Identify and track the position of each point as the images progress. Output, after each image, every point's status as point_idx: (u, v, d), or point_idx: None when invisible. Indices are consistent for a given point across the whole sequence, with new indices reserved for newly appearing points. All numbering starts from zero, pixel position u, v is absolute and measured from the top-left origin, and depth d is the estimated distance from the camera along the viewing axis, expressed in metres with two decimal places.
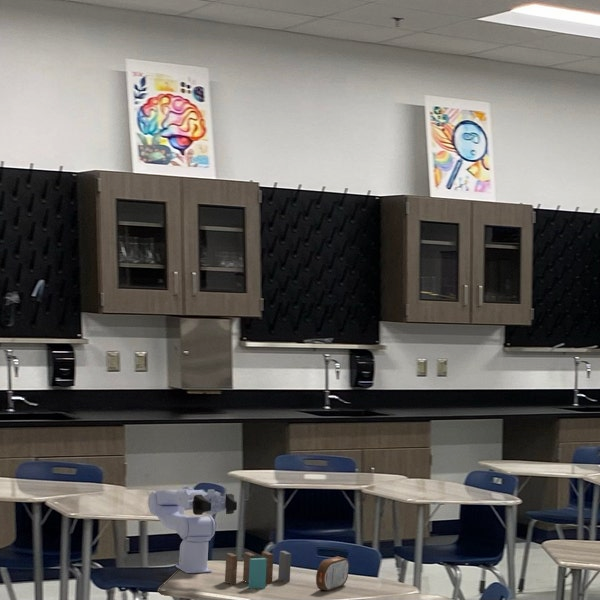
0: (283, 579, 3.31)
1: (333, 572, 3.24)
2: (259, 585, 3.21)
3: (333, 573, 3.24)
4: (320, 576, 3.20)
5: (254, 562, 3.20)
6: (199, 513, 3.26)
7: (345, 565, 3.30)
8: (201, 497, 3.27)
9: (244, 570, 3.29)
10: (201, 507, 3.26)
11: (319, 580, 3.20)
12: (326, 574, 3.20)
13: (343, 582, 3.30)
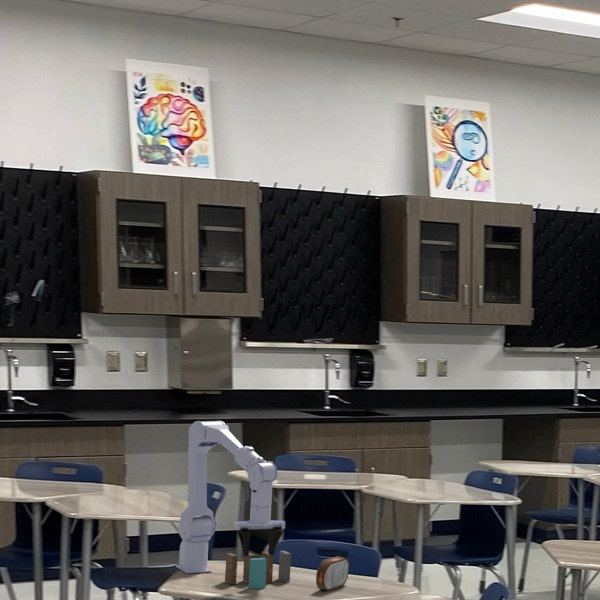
0: (283, 579, 3.31)
1: (333, 572, 3.24)
2: (259, 585, 3.21)
3: (333, 573, 3.24)
4: (320, 576, 3.20)
5: (254, 562, 3.20)
6: None
7: (345, 565, 3.30)
8: (247, 538, 3.18)
9: (244, 570, 3.29)
10: None
11: (319, 580, 3.20)
12: (326, 574, 3.20)
13: (343, 582, 3.30)
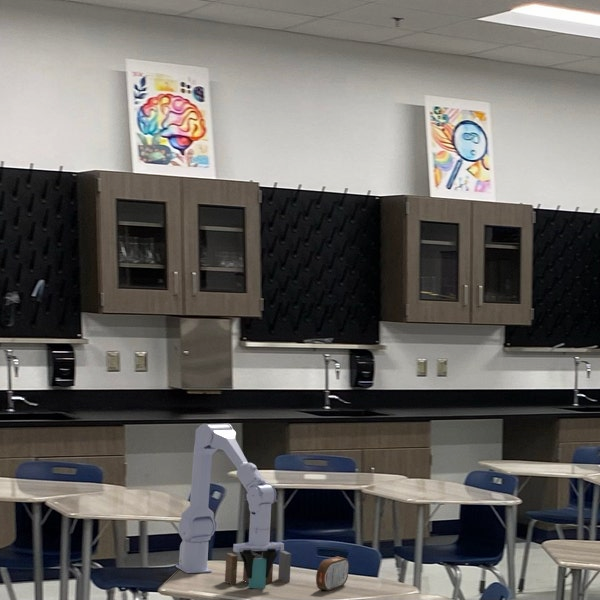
0: (283, 579, 3.31)
1: (333, 572, 3.24)
2: (258, 585, 3.21)
3: (333, 573, 3.24)
4: (320, 576, 3.20)
5: (254, 562, 3.20)
6: None
7: (345, 565, 3.30)
8: (251, 560, 3.19)
9: (244, 570, 3.29)
10: None
11: (319, 580, 3.20)
12: (326, 574, 3.20)
13: (343, 582, 3.30)
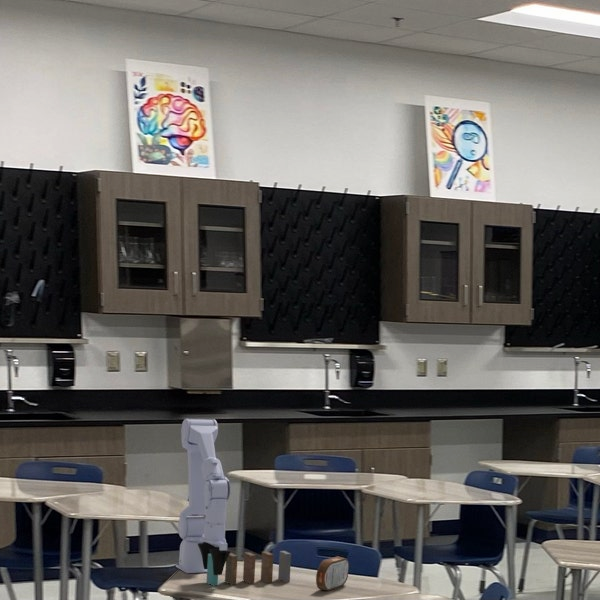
0: (283, 579, 3.31)
1: (333, 572, 3.24)
2: (209, 581, 3.23)
3: (333, 573, 3.24)
4: (320, 576, 3.20)
5: (208, 557, 3.24)
6: None
7: (345, 565, 3.30)
8: (200, 550, 3.27)
9: (244, 570, 3.29)
10: None
11: (319, 580, 3.20)
12: (326, 574, 3.20)
13: (343, 582, 3.30)
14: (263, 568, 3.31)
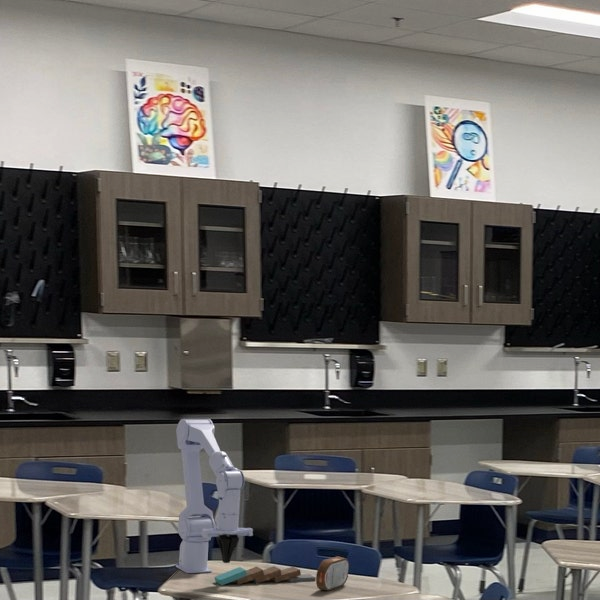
0: None
1: (333, 572, 3.24)
2: (220, 577, 3.24)
3: (333, 573, 3.24)
4: (320, 576, 3.20)
5: (238, 568, 3.28)
6: None
7: (345, 565, 3.30)
8: (226, 545, 3.23)
9: None
10: None
11: (320, 580, 3.20)
12: (326, 574, 3.20)
13: (343, 582, 3.30)
14: (281, 571, 3.33)
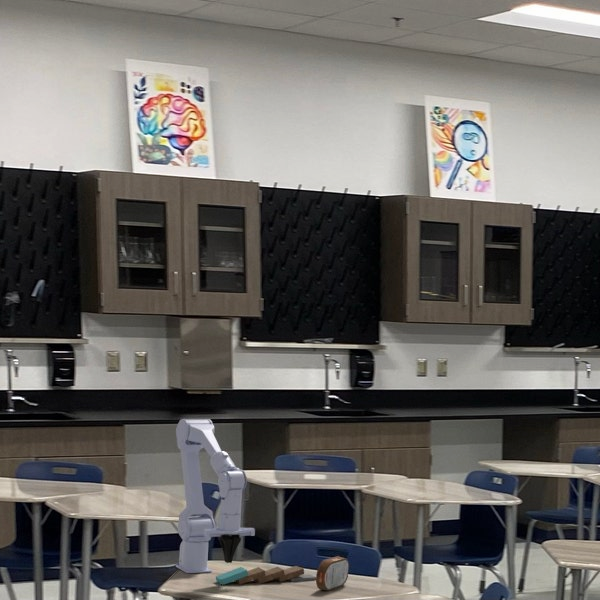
0: None
1: (333, 572, 3.24)
2: (221, 577, 3.24)
3: (333, 573, 3.24)
4: (320, 576, 3.20)
5: (239, 568, 3.29)
6: None
7: (345, 565, 3.30)
8: (229, 544, 3.23)
9: None
10: None
11: (319, 580, 3.20)
12: (326, 574, 3.20)
13: (343, 582, 3.30)
14: (284, 571, 3.34)
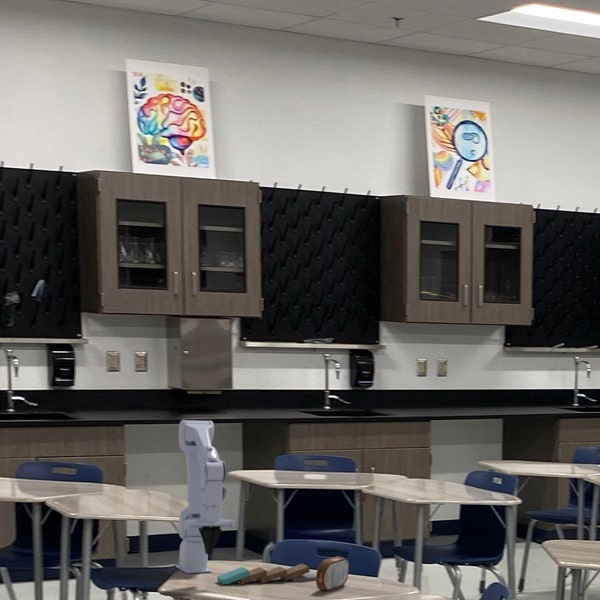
0: None
1: (333, 572, 3.24)
2: (222, 577, 3.25)
3: (333, 573, 3.24)
4: (320, 576, 3.20)
5: (240, 568, 3.29)
6: None
7: (345, 565, 3.30)
8: (209, 536, 3.23)
9: None
10: None
11: (319, 580, 3.20)
12: (326, 574, 3.20)
13: (343, 582, 3.30)
14: (290, 569, 3.35)
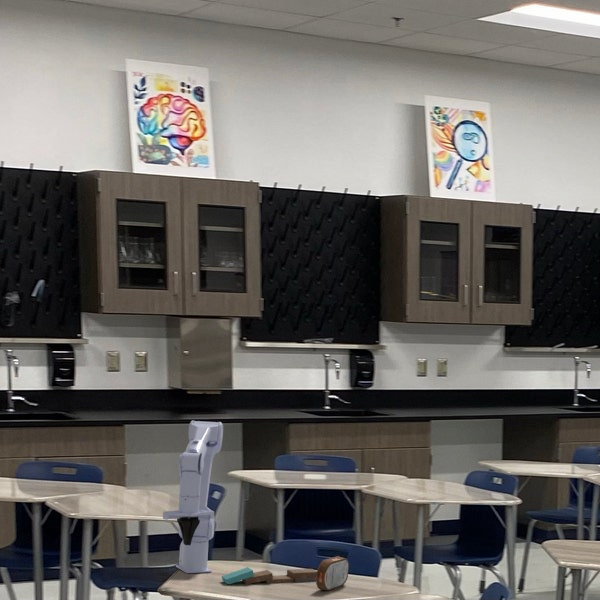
0: None
1: (333, 572, 3.24)
2: (227, 577, 3.25)
3: (333, 573, 3.24)
4: (320, 576, 3.20)
5: (246, 568, 3.29)
6: None
7: (345, 565, 3.30)
8: (187, 527, 3.22)
9: None
10: None
11: (319, 580, 3.20)
12: (326, 574, 3.20)
13: (343, 582, 3.30)
14: (299, 570, 3.36)
